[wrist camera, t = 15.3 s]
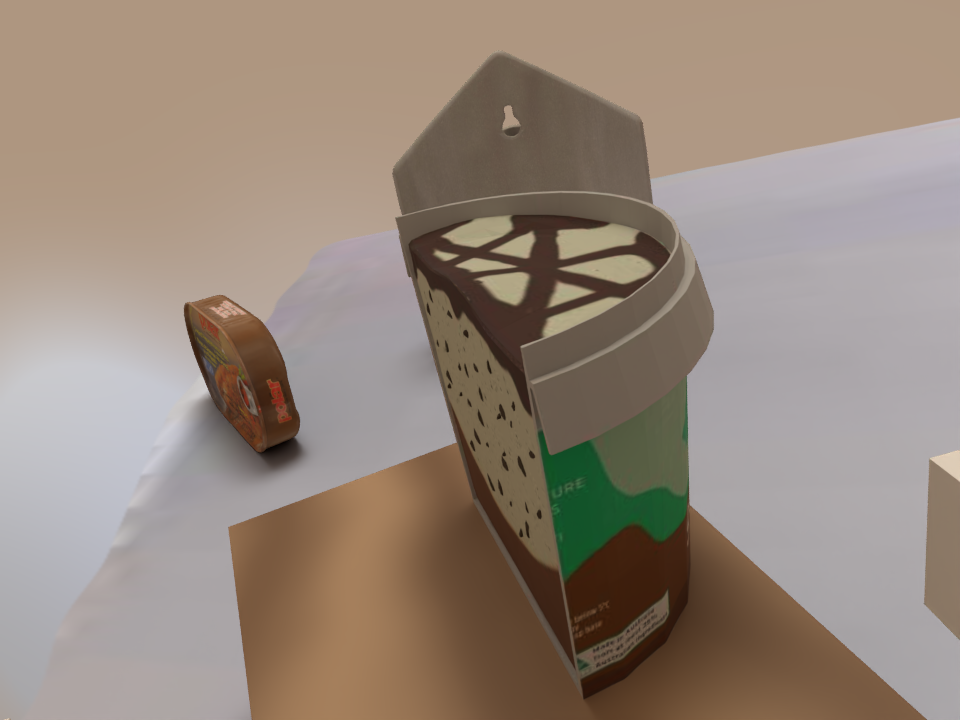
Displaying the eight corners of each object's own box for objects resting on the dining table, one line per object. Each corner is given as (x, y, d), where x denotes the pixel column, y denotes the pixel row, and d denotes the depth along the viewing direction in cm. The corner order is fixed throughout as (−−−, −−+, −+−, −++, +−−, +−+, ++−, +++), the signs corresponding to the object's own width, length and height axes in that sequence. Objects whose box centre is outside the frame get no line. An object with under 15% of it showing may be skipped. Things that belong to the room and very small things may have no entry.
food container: (842, 647, 20) (834, 258, 15) (610, 748, 19) (531, 357, 14) (616, 425, 31) (574, 160, 26) (461, 480, 29) (391, 213, 25)
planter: (646, 276, 64) (613, 13, 56) (667, 316, 57) (632, 21, 49) (443, 315, 66) (381, 64, 57) (438, 359, 58) (366, 80, 50)
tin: (207, 397, 61) (165, 293, 57) (247, 380, 62) (209, 277, 59) (274, 474, 49) (226, 348, 45) (322, 451, 50) (279, 327, 46)
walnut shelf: (601, 554, 36) (572, 399, 33) (932, 953, 21) (944, 735, 17) (294, 683, 33) (228, 527, 30) (407, 1269, 18) (295, 1080, 14)
